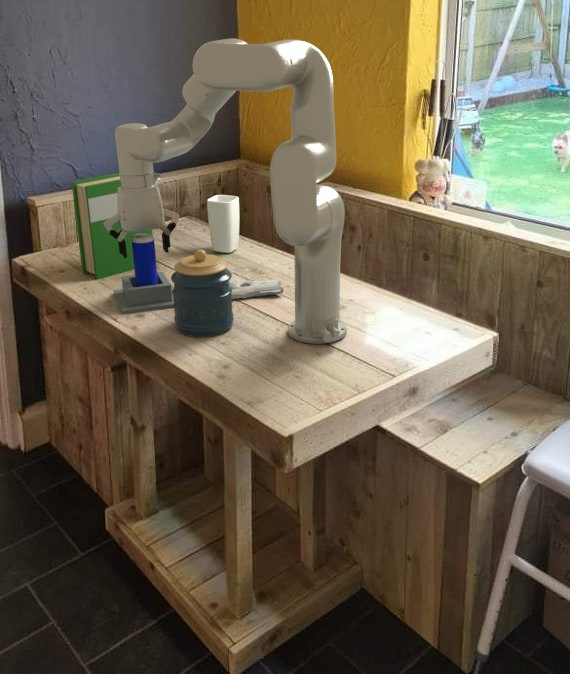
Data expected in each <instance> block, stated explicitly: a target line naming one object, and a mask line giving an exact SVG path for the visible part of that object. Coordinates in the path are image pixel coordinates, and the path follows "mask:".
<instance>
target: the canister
mask: <svg viewBox="0 0 570 674" xmlns="http://www.w3.org/2000/svg"><path fill="white" fill-rule="evenodd" d="M173 268H174V270H175V272H173V273H172V275H171V277H170V280H171V281H172V282H173V288H174V289H173V291H172V294H173V299H174V307H173V309H174V310H173V311H174V312H173V313H174V317H173V320H174V321H173V323H174V325H175V329H176V331H178V333H180V334H183V335H185V336H187V337H188V336H189V337H195V338H196V337H197V338H207V337H215V336H219V335H222V334H224V333H226V332H228V331H230V330H231V329H232V327H233V324H234V312H233V299H232V287H231V286H230V282H229V280H230V279H232V276H233V275H232V271H230V270H229V269H227V268H228V262H227V261H226V260H224V259H222V258H220V257H219V256H217V255H215V254H208V253H206V251H205V250H204V249H200V248H199V249H197V250H195V252H194V254H192V255H188V256H185V257H183V258H181V259H180V260H178V262H177V263H175V264H174V267H173Z"/></svg>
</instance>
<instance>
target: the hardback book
mask: <svg viewBox="0 0 570 674" xmlns="http://www.w3.org/2000/svg"><path fill="white" fill-rule="evenodd" d="M118 187H121V181H120V172H115V173H111V174H104V175H101V176H94V177H90V178H84V179H79V180H74V181H71V188H72V189H71V190H72V199H73V205H74V215H75V221H76V222H75V224H76V229H77V237H78V238H77V239H78V246H79V255H80V262H81V263H80V264H81V271H82V274H89V273H91V274H92V275H94V278H95V280H97V281H99V280H101V279H105V278H109V277H113V276H116V275H120V274H123V273H128V272H130V271H135V269H134V259H133V249H132V236H133V235H135V234H139V233H150V234H152V235H153V236H154V234H153V230H146V231H138V232H128V233H127V234H126V236H125V237H124V240H125V243H126V251H127V257H126V258H124V257H123V255H122V254H120V253H119V245H118V240H117V239H115V238H114V237H113V236H111V235H110V233H109V232H108V231H107V229H106V228H105V226H104V224H103V223H104V222H105V221H107V220H108V219H110V218H111V217H113V216H114V215H116V214H117V213H118V208H117V191H118ZM112 228H113V230H115V231H116V232H117V233H118V231H119V230H120V228H121V227H120V226H119V221H117V222H116V223H114V224H113V225H112Z"/></svg>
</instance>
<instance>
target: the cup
mask: <svg viewBox="0 0 570 674" xmlns="http://www.w3.org/2000/svg"><path fill="white" fill-rule="evenodd" d="M206 204H207V205H206V207H207V208H206V209H207V220H208V230H209V236H210V241H211V242H210V243H211V248H212V251H213V252H215V253H219V252H220V253H221V254H231V253H232V252H235V251H236V250H237V249H238V247H239V237H240V198H239V196H236V195H228V194H216V195H213V196H212V197H210V198H208V199H206ZM220 253H219V254H220Z"/></svg>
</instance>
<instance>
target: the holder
mask: <svg viewBox="0 0 570 674" xmlns="http://www.w3.org/2000/svg"><path fill="white" fill-rule="evenodd" d="M157 277H158V284H157V285H149V286H141V287H136V279H135V274H131V275H123V276H121V286H122V289H115V290H113V295H114V298H115V300H116V302H117V305H118V307H119V310H120V311H121V314H122V315H125V314H133V313H142V312H148V311H156V310H163V309H171V308H174V299H173V294H172V291H173V289H174V286H173V284H172V283H171V282H170V281H169V279H168V277H167V276H166V275H165V272H164V271H157Z"/></svg>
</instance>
